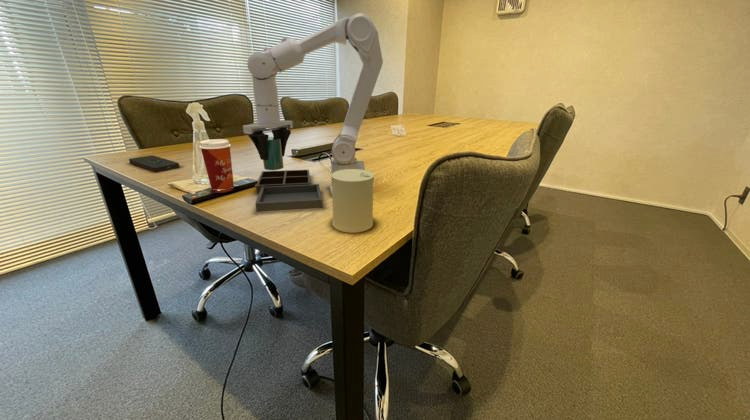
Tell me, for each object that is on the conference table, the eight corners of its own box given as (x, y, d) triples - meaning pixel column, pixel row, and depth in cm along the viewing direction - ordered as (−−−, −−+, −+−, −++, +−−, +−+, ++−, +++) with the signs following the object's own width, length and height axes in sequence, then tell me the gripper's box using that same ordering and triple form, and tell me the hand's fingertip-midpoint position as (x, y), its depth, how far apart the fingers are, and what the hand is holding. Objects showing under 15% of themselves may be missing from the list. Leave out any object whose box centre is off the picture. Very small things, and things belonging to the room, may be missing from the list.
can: (369, 234, 64) (370, 180, 59) (327, 230, 65) (324, 177, 60) (376, 217, 72) (377, 168, 68) (338, 213, 74) (337, 165, 69)
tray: (319, 192, 87) (319, 184, 86) (322, 209, 76) (322, 199, 75) (262, 195, 84) (261, 186, 83) (256, 213, 73) (255, 203, 72)
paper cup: (226, 196, 82) (217, 144, 77) (201, 193, 84) (191, 142, 78) (243, 187, 90) (236, 139, 84) (220, 185, 91) (212, 137, 85)
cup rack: (309, 176, 101) (308, 169, 100) (310, 191, 88) (310, 183, 87) (262, 178, 98) (261, 171, 97) (257, 193, 85) (255, 185, 84)
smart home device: (153, 167, 100) (127, 158, 110) (155, 172, 101) (128, 163, 110) (180, 162, 107) (152, 154, 116) (181, 167, 107) (153, 159, 117)
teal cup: (284, 165, 87) (281, 136, 84) (283, 169, 82) (280, 139, 79) (265, 165, 86) (261, 136, 83) (263, 170, 81) (259, 140, 78)
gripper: (278, 103, 85) (283, 151, 91) (232, 105, 74) (240, 160, 79) (296, 104, 82) (300, 154, 87) (250, 107, 71) (258, 164, 76)
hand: (273, 157), depth 83 cm, fingers closed on teal cup, 5 cm apart
